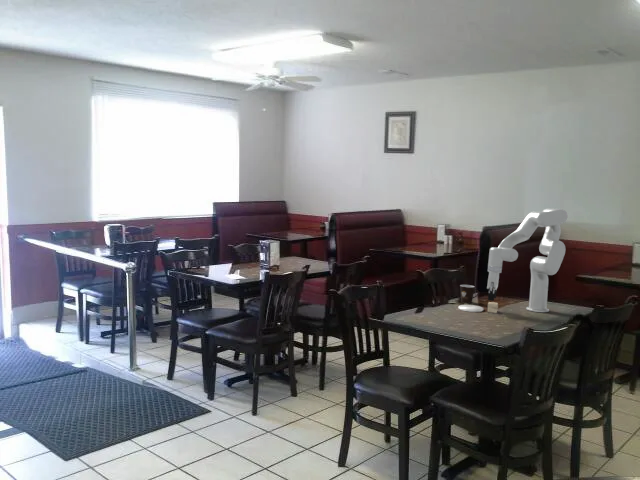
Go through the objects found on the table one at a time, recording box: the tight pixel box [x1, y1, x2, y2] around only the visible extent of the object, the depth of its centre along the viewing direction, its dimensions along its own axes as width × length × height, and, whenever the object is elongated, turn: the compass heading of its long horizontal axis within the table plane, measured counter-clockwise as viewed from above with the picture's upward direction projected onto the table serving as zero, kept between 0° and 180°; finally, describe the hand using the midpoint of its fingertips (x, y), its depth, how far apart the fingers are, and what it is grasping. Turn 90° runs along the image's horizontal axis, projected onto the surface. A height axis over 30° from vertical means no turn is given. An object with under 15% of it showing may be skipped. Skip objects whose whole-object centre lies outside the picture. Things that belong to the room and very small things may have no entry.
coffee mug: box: [459, 284, 480, 304], centre depth 354 cm, size 12×9×10 cm
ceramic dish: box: [457, 304, 484, 313], centre depth 334 cm, size 14×14×1 cm
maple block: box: [486, 301, 499, 314], centre depth 330 cm, size 5×5×5 cm
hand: (491, 299), depth 330 cm, fingers open, 9 cm apart
